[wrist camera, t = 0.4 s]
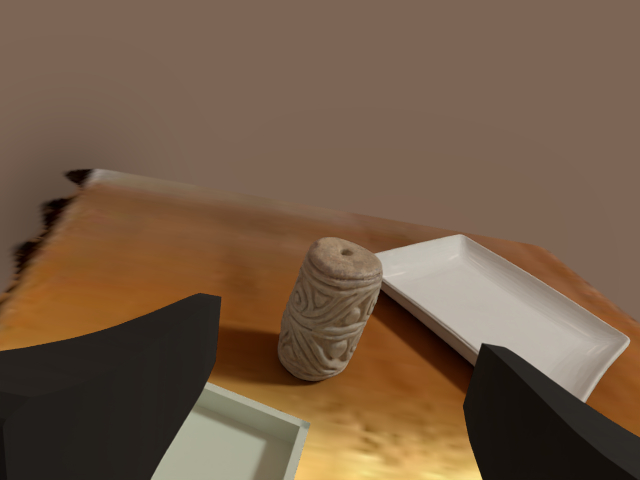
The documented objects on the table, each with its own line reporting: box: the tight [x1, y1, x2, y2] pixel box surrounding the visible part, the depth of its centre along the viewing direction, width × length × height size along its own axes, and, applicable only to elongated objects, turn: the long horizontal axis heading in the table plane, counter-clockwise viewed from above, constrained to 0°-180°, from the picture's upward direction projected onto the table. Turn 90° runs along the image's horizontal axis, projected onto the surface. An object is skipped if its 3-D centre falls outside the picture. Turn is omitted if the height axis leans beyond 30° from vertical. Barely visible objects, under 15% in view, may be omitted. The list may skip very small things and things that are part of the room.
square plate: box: [374, 235, 630, 403], centre depth 55 cm, size 27×27×4 cm
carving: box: [278, 237, 383, 381], centre depth 37 cm, size 6×8×12 cm
